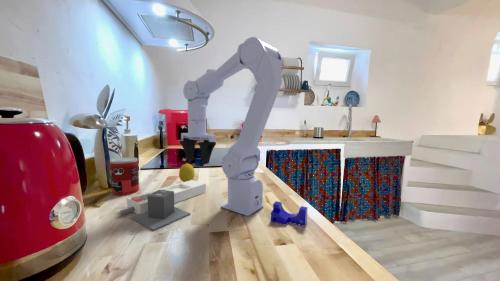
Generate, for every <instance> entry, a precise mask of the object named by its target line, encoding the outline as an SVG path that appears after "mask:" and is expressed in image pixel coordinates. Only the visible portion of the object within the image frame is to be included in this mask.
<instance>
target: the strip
mask: <svg viewBox="0 0 500 281" xmlns="http://www.w3.org/2000/svg"><path fill="white" fill-rule="evenodd" d="M158 190H165V191H174V205H175V204H177V203H180V202H183V201H185V200H189V199H190V198H191V199H192V198H193V197H197V196H199V195H202V194H204V193H206V192H207V183H204V182H201V181H197V180H194V179H193V180H190V181H186V182H183V181H182V182H179V183H177V184H173V185H169V186H165V187H161V188H158V189H154V190H150V191H147V192H143V193H140V194H137V195H133V196H129V197H126V206H127V207H126V208H125V209H121V210H120V211H119V213H120V215H121V216H124V215H126V214H130V213H132V212H133V213H135V215H137V214H143V213H145V212H148V195H150V194H152V193H154V192H156V191H158Z"/></svg>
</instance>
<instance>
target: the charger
mask: <svg viewBox="0 0 500 281" xmlns="http://www.w3.org/2000/svg"><path fill="white" fill-rule="evenodd" d="M157 190H158V189H157ZM174 207H175V204H174V191H165V190H158V191H156V192H154V193H152V194H150V195H148V218H157V219H166V218H167V217H168V216H170V215H171V214H172V213H173V212H174Z"/></svg>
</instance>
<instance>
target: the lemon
mask: <svg viewBox="0 0 500 281" xmlns="http://www.w3.org/2000/svg"><path fill="white" fill-rule="evenodd" d="M178 174H179V180H180V181H181V182H182V183H183V182H186V181H190V180H194V178H195V174H196V172H195V168H194V166H193V165H192V164H190V163H187V162H186V163H185V164H183V165H181V166H180V168H179V173H178Z"/></svg>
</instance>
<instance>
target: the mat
mask: <svg viewBox="0 0 500 281" xmlns="http://www.w3.org/2000/svg"><path fill="white" fill-rule="evenodd" d="M190 215H191V213H190V212H188V211H186V210H183V209H181V208H178V207H177V206H174V212H173V213H172V214H171V215H170V216H168V217H167V218H166V219H157V218H148V212H145V213H143V214H135V215H132V216H130V218H131V220H134V221H136V222H138V223H139V224H141V225H143V226H144V227H146V228H147V229H149V230H151V231H153V232H154V231H157V230H159V229H161V228H163V227H165V226H167V225H170V224H173V223H174V222H177V221H179V220H182V219H184V218H186V217H188V216H190Z"/></svg>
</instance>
